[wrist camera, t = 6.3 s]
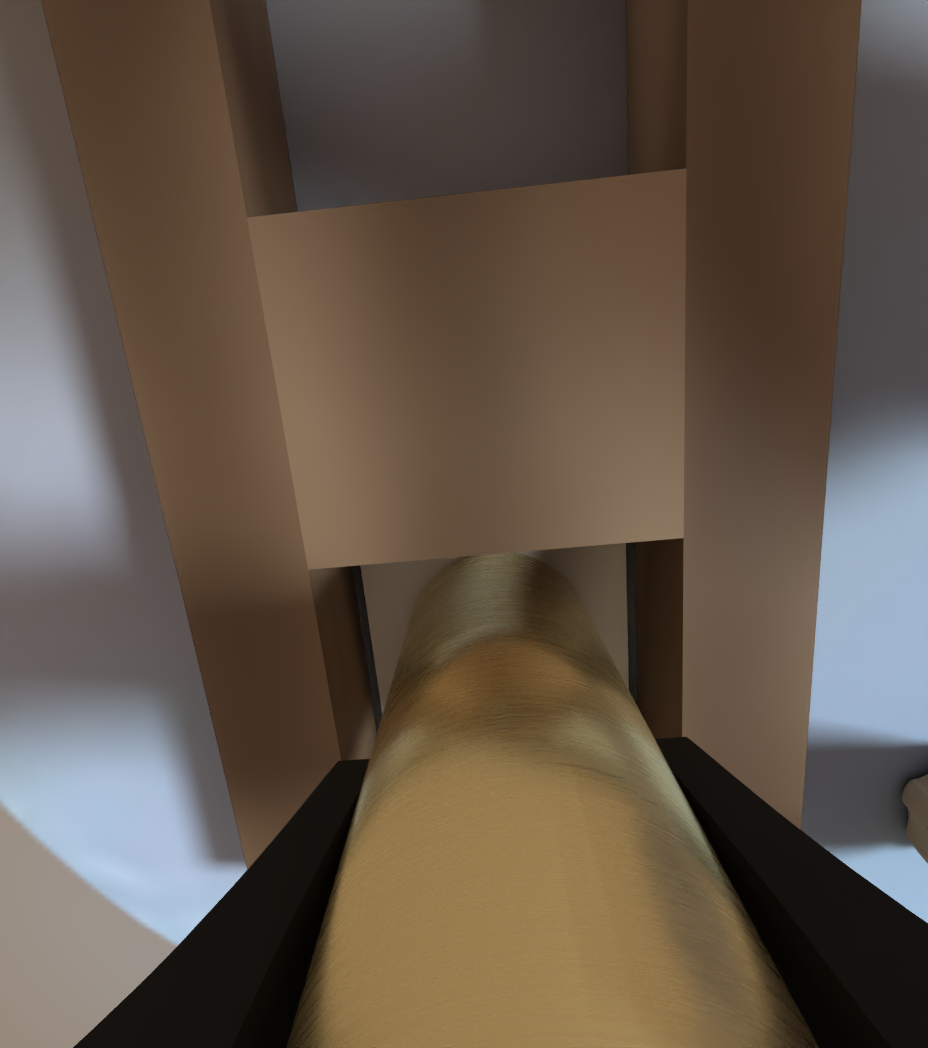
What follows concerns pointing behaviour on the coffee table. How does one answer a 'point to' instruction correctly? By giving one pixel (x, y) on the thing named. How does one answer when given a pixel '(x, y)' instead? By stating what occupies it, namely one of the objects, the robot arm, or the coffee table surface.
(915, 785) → the handle
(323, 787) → the robot arm
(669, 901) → the peg
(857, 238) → the coffee table surface
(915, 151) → the coffee table surface
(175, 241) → the mount block
